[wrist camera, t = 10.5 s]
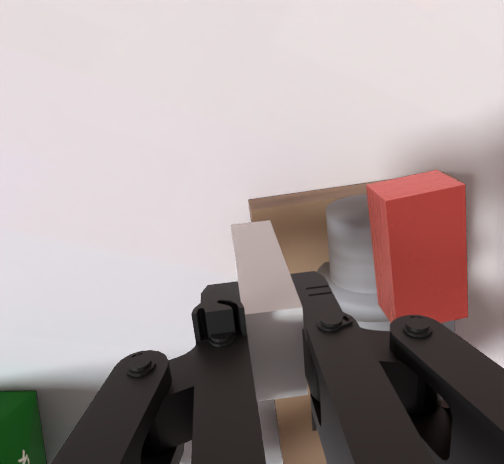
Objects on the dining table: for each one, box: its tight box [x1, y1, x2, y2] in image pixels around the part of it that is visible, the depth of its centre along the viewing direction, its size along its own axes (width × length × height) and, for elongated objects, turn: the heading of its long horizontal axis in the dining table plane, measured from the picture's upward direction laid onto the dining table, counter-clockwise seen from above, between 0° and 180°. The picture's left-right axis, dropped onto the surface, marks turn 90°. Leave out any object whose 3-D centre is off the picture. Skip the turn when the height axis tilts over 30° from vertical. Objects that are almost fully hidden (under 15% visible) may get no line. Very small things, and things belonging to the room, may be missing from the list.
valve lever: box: [366, 170, 468, 333], centre depth 19 cm, size 15×3×2 cm, turn 11°
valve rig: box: [248, 172, 459, 464], centre depth 27 cm, size 20×12×10 cm, turn 7°
